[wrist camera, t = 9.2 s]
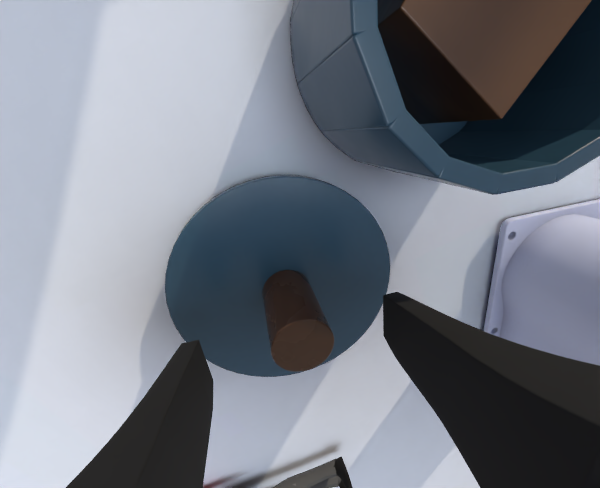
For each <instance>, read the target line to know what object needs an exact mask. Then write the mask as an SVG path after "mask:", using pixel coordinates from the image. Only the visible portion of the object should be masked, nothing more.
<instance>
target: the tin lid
mask: <svg viewBox="0 0 600 488" xmlns="http://www.w3.org/2000/svg"><path fill="white" fill-rule="evenodd" d="M389 275H390V261H389V253H388V248H387V243H386V241H385V238H384V235H383V233H382V230H381V229H380V227H379V225H378V223H377V221H376V220H375V218H374V217H373V216H372V215H371V213H370V212H369V211H368V210H367V208H365V207H364V206H363V205H362V204H361V203H360V202H359V201H358V200H357V199H356V198H354V197H353V196H351V195H350V194H348V193H347V192H345V191H344V190H342V189H340V188H338V187H336V186H334V185H332V184H330V183H327V182H324V181H321V180H318V179H314V178H309V177H303V176H293V175H278V176H268V177H262V178H258V179H254V180H250V181H247V182H244V183H242V184H239V185H236V186H234V187H232V188H230V189H228V190H226V191H224V192H223V193H221V194H219V195H217V196H216V197H215V198H213V199H212V200H211V201H209V202H208V203H206V204H205V205H204V206H203V207H202V208H201V209H200V210H199V211H198V212H197V213H196V214H195V215H194V216H193V217H192V218H191V219H190V221H189V222H188V223H187V225H186V226H185V227H184V229H183V230H182V232H181V234H180V235H179V237H178V239H177V241H176V243H175V244H174V247H173V249H172V252H171V255H170V257H169V260H168V265H167V270H166V276H165V293H166V301H167V306H168V309H169V312H170V316H171V318H172V320H173V322H174V324H175V326H176V329H177V330H178V331H179V333H180V334H181V336H182V337H183V339H184V340H185V341H186V342H191V341H195V340H199V341H200V344H201V347H202V350H203V353H204V356H205V359H207V360H208V361H210V362H211V363H213V364H215V365H217V366H219V367H222V368H224V369H226V370H230V371H233V372H236V373H240V374H245V375H250V376H261V377H276V376H284V375H291V374H296V373H300V372H303V371H307V370H310V369H313V368H315V367H318V366H320V365H322V364H325V363H326V362H328V361H330V360H332V359H334V358H335V357H337V356H338V355H340V354H341V353H343V352H344V351H346V350H347V349H348V348H349V347H351V346H352V345H353V344H354V343H355V342H356V341H357V340H358V339H359V338H360V337H361V336H362V335H363V334H364V333H365V332H366V330H367V329H368V328H369V327H370V325H371V324H372V322H373V321H374V319H375V318H376V316H377V314H378V312H379V310H380V308H381V306H382V304H383V295H386V292H387V288H388V283H389Z"/></svg>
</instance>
